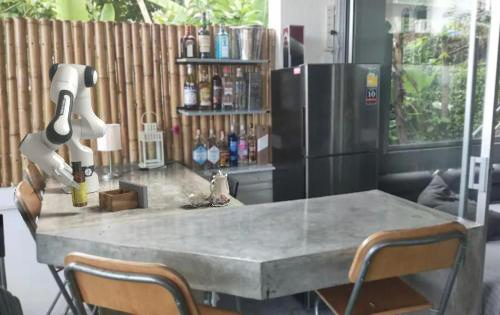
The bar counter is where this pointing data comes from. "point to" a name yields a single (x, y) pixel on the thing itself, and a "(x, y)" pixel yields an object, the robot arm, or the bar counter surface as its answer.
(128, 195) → the wooden box
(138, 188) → the backstop wall
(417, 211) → the bar counter surface
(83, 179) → the sauce bottle
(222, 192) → the chinaware
